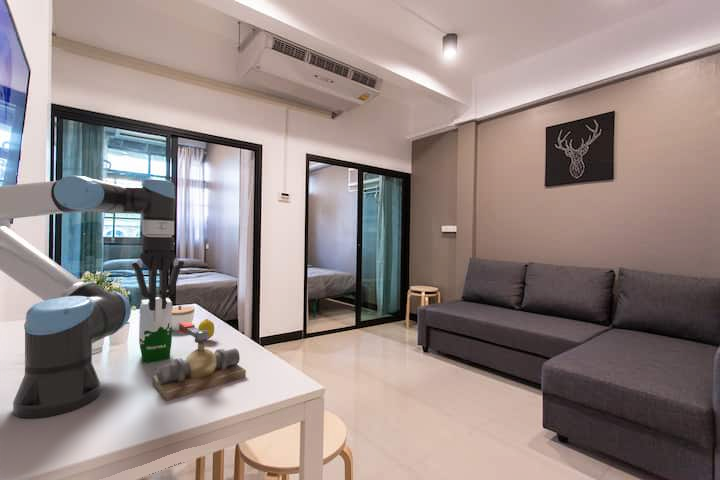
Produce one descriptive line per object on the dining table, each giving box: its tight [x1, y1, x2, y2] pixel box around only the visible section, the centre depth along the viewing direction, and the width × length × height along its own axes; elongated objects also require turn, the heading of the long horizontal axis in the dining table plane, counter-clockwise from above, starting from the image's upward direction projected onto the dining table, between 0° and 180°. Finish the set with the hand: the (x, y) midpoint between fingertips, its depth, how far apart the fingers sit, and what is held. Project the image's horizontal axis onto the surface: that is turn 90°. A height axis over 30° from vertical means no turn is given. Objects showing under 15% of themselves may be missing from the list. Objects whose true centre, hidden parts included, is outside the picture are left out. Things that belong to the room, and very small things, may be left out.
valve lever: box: [178, 322, 209, 344], centre depth 96 cm, size 15×3×2 cm, turn 46°
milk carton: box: [138, 293, 173, 364], centre depth 107 cm, size 9×9×20 cm
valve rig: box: [151, 342, 247, 401], centre depth 92 cm, size 20×12×10 cm, turn 136°
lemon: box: [197, 318, 215, 340], centre depth 124 cm, size 6×6×8 cm
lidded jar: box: [172, 304, 195, 332], centre depth 138 cm, size 11×11×9 cm
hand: (157, 321), depth 94 cm, fingers closed
